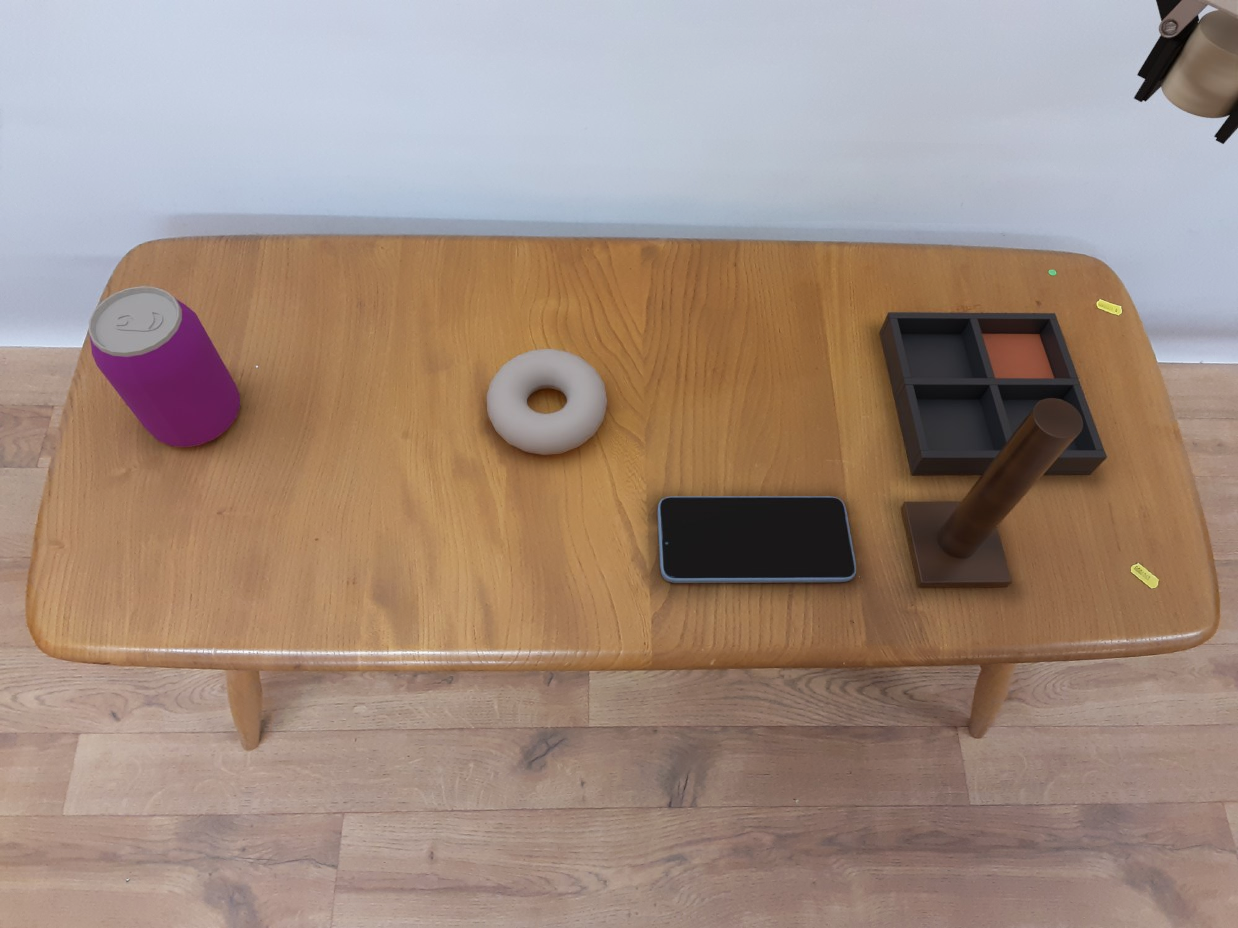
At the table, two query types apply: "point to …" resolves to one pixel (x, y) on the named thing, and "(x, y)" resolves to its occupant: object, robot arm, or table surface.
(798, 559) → the smartphone
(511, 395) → the donut
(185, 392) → the beverage can
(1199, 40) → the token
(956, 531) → the stand
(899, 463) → the table surface
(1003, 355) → the grid
